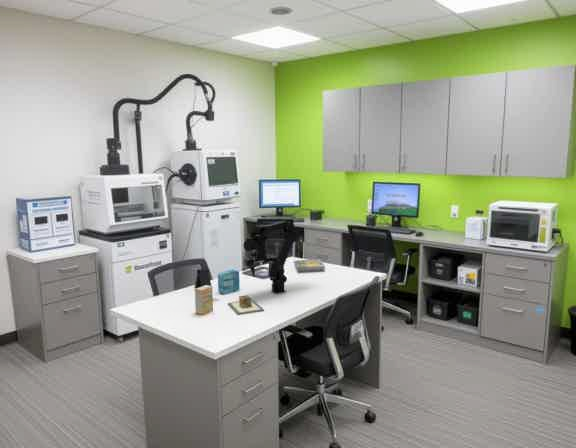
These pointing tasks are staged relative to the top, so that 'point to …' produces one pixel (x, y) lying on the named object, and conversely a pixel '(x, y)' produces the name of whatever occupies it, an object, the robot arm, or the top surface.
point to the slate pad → (240, 310)
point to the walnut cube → (245, 301)
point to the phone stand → (202, 278)
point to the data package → (228, 281)
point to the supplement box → (203, 299)
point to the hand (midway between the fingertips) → (261, 275)
